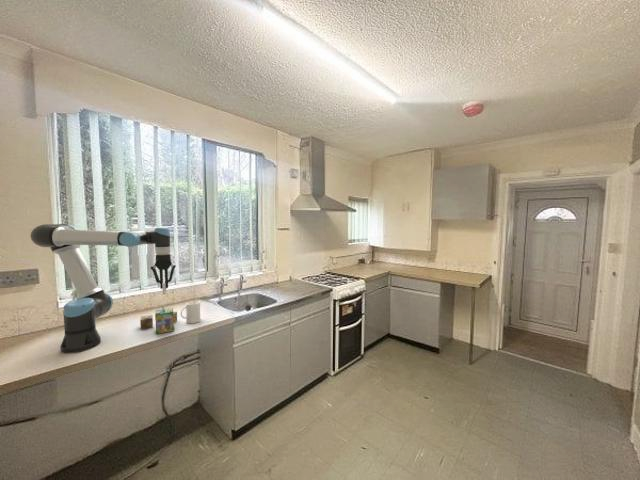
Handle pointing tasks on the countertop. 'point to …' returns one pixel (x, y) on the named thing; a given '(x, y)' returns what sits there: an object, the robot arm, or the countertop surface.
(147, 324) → the walnut block
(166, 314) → the chalk box
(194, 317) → the mug
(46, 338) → the countertop surface
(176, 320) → the walnut block
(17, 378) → the countertop surface
